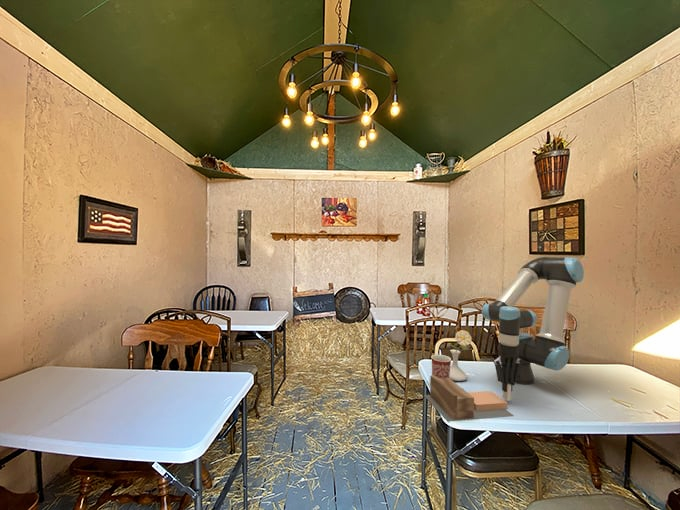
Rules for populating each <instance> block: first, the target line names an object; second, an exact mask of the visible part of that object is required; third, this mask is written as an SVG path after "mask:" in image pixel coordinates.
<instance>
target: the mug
mask: <svg viewBox="0 0 680 510" xmlns="http://www.w3.org/2000/svg"><path fill="white" fill-rule="evenodd" d="M430 357H431V375H434V376H435V377H437V378H449V374H450V367H451V365H452V364H451V363H452V362H451V361H452V358H451V357H450V356H447V355H444V354H432V355H431V356H430Z"/></svg>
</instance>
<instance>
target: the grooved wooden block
mask: <svg viewBox="0 0 680 510" xmlns="http://www.w3.org/2000/svg"><path fill="white" fill-rule="evenodd" d="M429 380H430V384H429V387H430V388H429V389H430V390H429V395H430V396H431V397H432V398H433V399H434V401H435V402H436V403H437V404H438V405H439V406H440V407H441V408H442V409H443V410H444V411H445V412H446V413H447V414H448V415H449V416H450V417H451V418H452V419H464V418H474V397H472V396H471V395H470V394H469V393H467V390H464V389H463V388H462V387H461V386H460V385H458V383H456V381H454V380H451V379H450V378H437V377H435V376H434V375H432V374H431V375H430V379H429Z"/></svg>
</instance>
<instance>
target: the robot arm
mask: <svg viewBox="0 0 680 510" xmlns="http://www.w3.org/2000/svg"><path fill="white" fill-rule="evenodd" d="M517 271H518V272H517V275H516V277H515V278H514V279H513V280H512V281H511V282H510V283H509V284H508V285H507V286H506V288H505V289H504V290H503V291H502V292H501V294H500V295H498V297H497V298H496V299H495V301H493V302H492V304H491V303H485V304H484V305H483V306H481V307H482V308H481V315H482V317H483V318H484V319H486V320H488V321H492V322H496V323H497V322H498V328H499V329H498V348H497V349H498V356H497V358H496V359H495V358H493V359H492V362H493V364H494V366H495V373H496V380H497V381H498V382H499V383H501V391H502V399H504V400H505V401H507V402H508V401H511V400H512V392H513V386H515V385H516V384H519V385H532V384H534V383H535V376H534V373H533V369H532V366H531V365H532V364H534V365H537V366H539V367H540V366H541V367H543V368H545V369H548V370H552V371H560V370H562V369H564V368H565V367H566V366H567V364H568V361H569V359H570V350H569V348H568V347H567V346H566V342H565V341H564V339H563V334H564V330H565V324H566V318H567V314H568V313H567V312H568V308H569V307H568V306H569V301H570V296H571V291H572V289H574V288H576V286H577V284H578V283H581V282H582V281H583V279H584V276H585V274H584V271H585V270H584V267H583V264H582V261H581V260H579V259H578V258H576V257H568V256H565V257H564V256H563V257H562V256H558V257H557V256H542V257H541V256H540V257H537V258H534V259H531V260H530V261H528V262H526V263H525V264H524V265H523V266H521V268H520V269H519V270H517ZM539 280H546V284H547V285H548V290H547V296H546V299H545V300H546V301H545V306H544V311H543V316H542V321H541V326H540V330H539V331H540V332H539V333H537V334H535V337H534V338H533V337H532V334H531V333H527V332H520V329H525V328H531V327H534V326H536V324H537V322H538V317H537V315H536V313H535V312H534V311H532V310H530V309H520V308H518V307H514V305H516V303H517V302H518V301H520V299H521V297H522V296H523V295H524V294H525V293H526V292H527V290H528V289H530V287H531V285H533V284H536V283H537V282H538V281H539Z"/></svg>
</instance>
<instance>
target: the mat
mask: <svg viewBox="0 0 680 510" xmlns="http://www.w3.org/2000/svg"><path fill="white" fill-rule="evenodd" d="M423 397H424V398H425V399H426V400H427V401H428V402H429V403H430V405H432V406H433V408H434V409H435V410H437V412H438V414H440V415H441V416H442V417H443V419H444V420H446V422H448V423H450V422H457V421H458V422H459V421H461V422H462V421H472V420H484V419H485V420H486V419H495V418H509V417H515V414H513V413H511V412H510V411H508V409H500V410H487V411H475V410H474V418H464V419H452V418H451V417H450V416H449V415H448V414H447V413H446V412H445V411H444V410H443V409H442V408H441V407H440V406H439V405H438V404H437V403H436V402H435V401H434V399H433V398H432V397H431V396H430V394H424V395H423Z"/></svg>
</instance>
